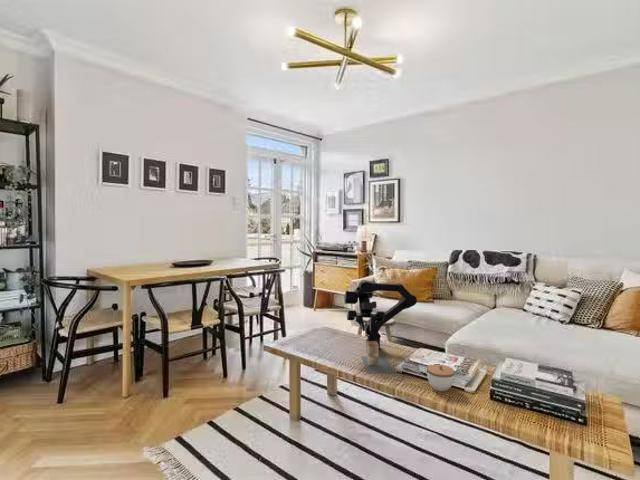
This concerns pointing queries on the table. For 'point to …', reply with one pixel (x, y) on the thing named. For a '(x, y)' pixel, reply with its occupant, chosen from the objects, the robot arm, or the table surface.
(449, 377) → the lidded jar
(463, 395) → the table surface
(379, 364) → the rubber mat
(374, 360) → the tan long rectangular block
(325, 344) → the table surface
